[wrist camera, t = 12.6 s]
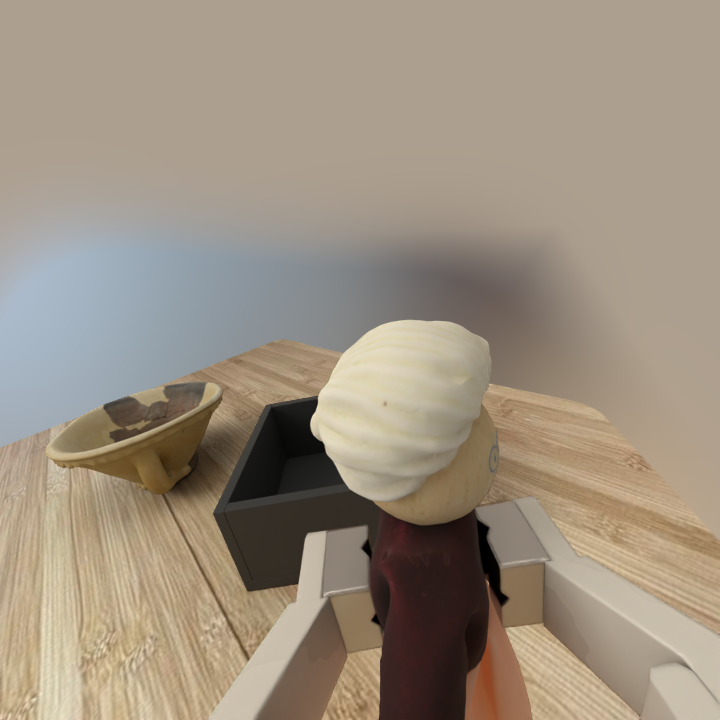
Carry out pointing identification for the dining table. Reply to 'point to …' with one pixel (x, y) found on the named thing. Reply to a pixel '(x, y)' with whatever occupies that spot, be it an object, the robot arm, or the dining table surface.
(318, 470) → the open square box
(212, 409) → the bowl
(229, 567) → the dining table surface
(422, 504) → the grandmother figurine
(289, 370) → the dining table surface
